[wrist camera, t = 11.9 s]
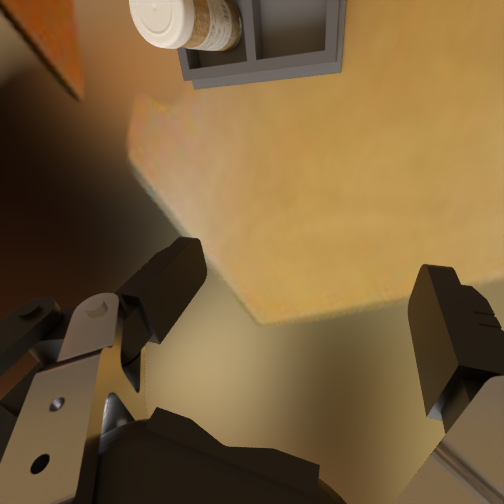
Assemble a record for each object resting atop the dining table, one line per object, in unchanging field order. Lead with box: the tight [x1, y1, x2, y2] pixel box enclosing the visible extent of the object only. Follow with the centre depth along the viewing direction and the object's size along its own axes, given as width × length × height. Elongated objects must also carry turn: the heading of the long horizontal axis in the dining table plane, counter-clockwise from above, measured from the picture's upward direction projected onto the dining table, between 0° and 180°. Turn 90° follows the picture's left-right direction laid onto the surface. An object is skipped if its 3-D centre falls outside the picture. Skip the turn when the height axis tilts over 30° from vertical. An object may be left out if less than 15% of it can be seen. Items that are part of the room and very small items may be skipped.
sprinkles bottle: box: [129, 0, 242, 53], centre depth 24 cm, size 5×5×14 cm
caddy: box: [177, 0, 346, 90], centre depth 27 cm, size 18×11×4 cm, turn 97°
